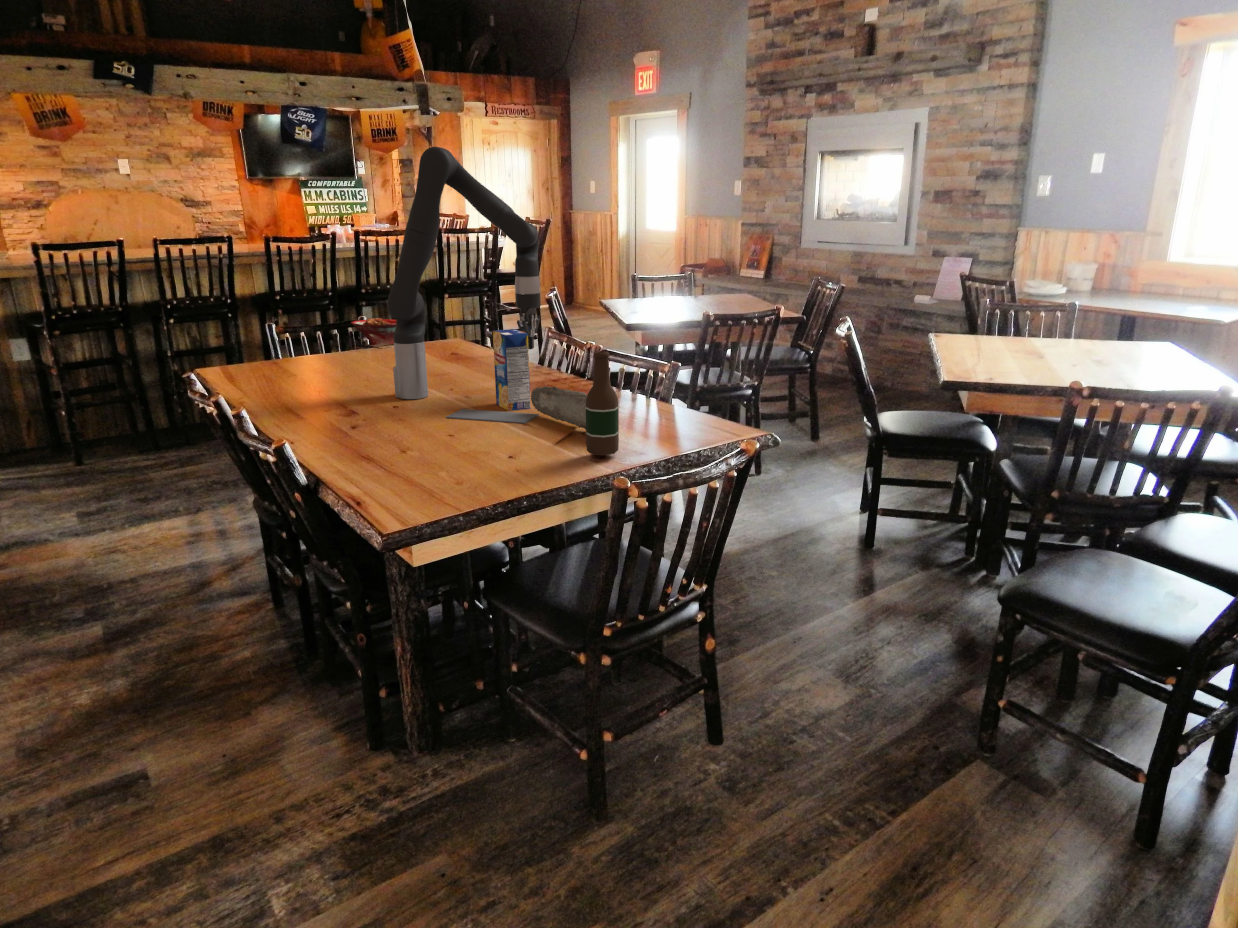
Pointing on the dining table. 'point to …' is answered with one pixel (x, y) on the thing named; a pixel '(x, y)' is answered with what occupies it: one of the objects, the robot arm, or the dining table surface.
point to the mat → (493, 416)
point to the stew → (376, 332)
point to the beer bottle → (602, 410)
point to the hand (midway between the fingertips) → (529, 348)
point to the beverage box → (511, 369)
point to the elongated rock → (561, 404)
